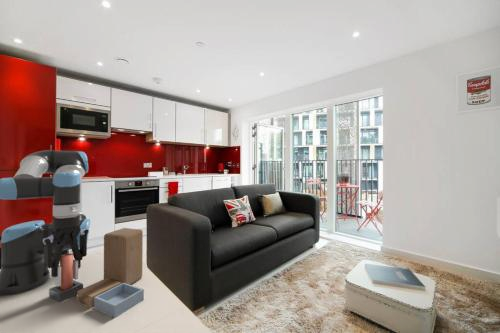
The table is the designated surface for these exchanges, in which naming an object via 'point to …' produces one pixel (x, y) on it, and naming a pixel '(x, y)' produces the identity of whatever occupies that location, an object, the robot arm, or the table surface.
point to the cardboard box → (95, 291)
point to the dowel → (66, 271)
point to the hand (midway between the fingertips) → (66, 281)
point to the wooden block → (123, 255)
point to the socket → (64, 292)
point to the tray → (118, 299)
